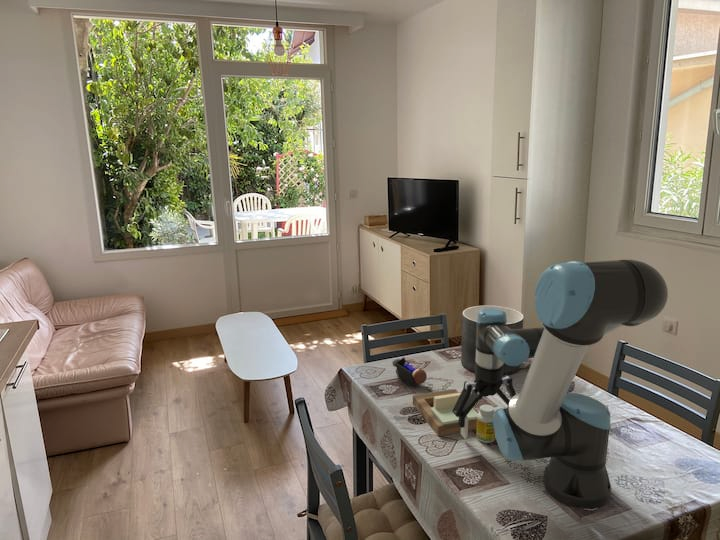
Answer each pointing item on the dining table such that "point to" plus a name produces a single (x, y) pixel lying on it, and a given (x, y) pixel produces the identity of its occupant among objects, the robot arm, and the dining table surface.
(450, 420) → the cover
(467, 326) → the planter
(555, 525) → the dining table surface
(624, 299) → the robot arm
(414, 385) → the character figurine
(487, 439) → the supplement bottle
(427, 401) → the board
